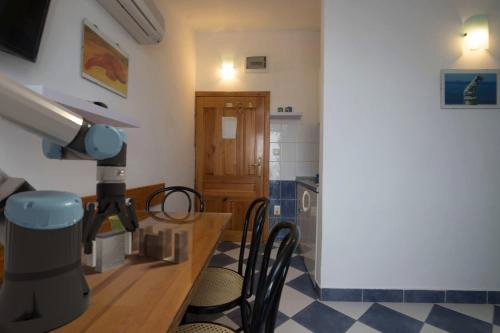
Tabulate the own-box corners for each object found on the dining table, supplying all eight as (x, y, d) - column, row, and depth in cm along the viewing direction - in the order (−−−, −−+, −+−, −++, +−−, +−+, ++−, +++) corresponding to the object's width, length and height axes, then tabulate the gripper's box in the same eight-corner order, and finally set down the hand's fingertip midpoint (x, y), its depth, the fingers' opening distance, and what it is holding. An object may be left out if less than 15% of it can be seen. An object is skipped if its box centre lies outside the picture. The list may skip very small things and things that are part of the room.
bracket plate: (102, 273, 68) (102, 236, 69) (94, 270, 70) (95, 234, 70) (124, 264, 75) (125, 230, 75) (117, 262, 76) (117, 229, 76)
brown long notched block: (179, 263, 76) (179, 233, 76) (124, 252, 86) (125, 225, 86) (188, 259, 79) (188, 230, 79) (134, 249, 89) (134, 223, 89)
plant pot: (104, 241, 98) (105, 219, 98) (111, 235, 107) (112, 215, 107) (130, 240, 100) (131, 218, 100) (135, 234, 109) (136, 214, 109)
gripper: (78, 184, 61) (76, 276, 60) (152, 180, 81) (151, 249, 81) (59, 183, 64) (58, 271, 63) (135, 180, 85) (134, 246, 84)
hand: (110, 259), depth 72 cm, fingers open, 10 cm apart
